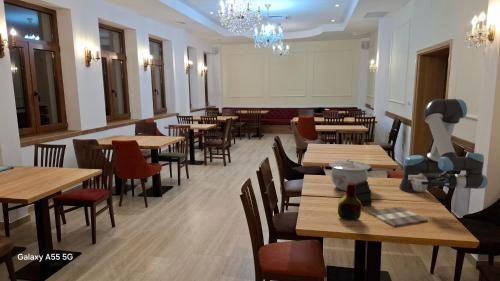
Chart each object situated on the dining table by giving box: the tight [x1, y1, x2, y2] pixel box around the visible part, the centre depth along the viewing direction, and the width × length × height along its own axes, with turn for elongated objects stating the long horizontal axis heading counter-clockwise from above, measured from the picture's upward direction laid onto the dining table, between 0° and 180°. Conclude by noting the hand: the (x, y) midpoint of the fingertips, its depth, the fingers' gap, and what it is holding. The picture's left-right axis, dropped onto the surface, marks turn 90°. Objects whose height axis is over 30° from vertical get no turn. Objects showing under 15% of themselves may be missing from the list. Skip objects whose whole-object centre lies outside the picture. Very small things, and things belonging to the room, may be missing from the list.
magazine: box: [355, 180, 373, 207], centre depth 196 cm, size 4×13×15 cm, turn 67°
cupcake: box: [411, 173, 428, 193], centre depth 184 cm, size 9×9×10 cm
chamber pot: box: [329, 159, 372, 192], centre depth 226 cm, size 28×28×21 cm
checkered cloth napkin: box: [367, 206, 429, 228], centre depth 177 cm, size 22×20×1 cm
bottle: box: [337, 183, 363, 221], centre depth 174 cm, size 12×6×20 cm, turn 67°
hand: (411, 179), depth 184 cm, fingers closed on cupcake, 9 cm apart
